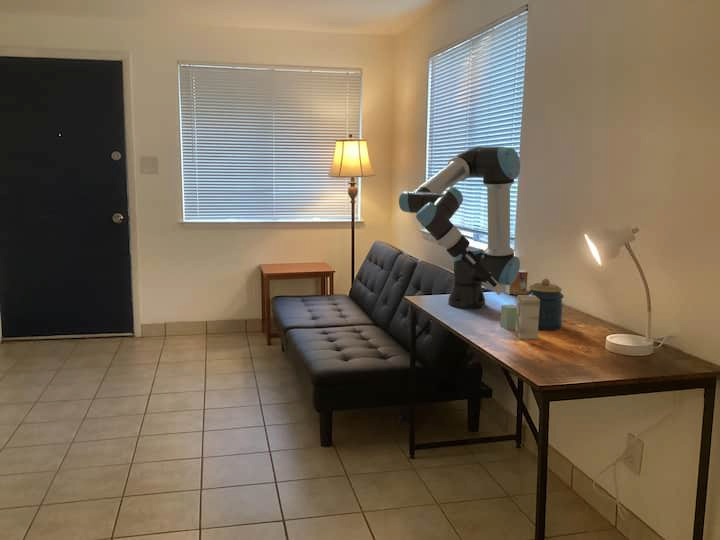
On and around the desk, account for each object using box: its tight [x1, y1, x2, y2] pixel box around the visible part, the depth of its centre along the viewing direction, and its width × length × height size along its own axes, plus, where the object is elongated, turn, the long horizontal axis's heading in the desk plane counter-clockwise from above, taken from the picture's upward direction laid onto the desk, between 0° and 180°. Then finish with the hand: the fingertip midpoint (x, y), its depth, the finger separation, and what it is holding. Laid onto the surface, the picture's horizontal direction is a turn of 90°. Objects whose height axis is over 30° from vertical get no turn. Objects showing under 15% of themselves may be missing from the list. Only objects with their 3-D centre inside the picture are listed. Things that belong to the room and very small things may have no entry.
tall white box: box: [514, 294, 540, 341], centre depth 216 cm, size 6×6×14 cm
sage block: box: [499, 304, 517, 331], centre depth 228 cm, size 4×4×8 cm
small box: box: [505, 269, 529, 295], centre depth 286 cm, size 8×6×10 cm
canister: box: [526, 278, 565, 331], centre depth 230 cm, size 13×13×18 cm
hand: (501, 292), depth 213 cm, fingers closed
